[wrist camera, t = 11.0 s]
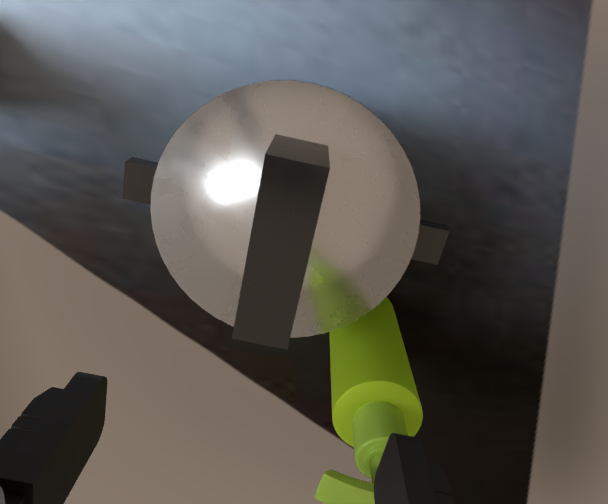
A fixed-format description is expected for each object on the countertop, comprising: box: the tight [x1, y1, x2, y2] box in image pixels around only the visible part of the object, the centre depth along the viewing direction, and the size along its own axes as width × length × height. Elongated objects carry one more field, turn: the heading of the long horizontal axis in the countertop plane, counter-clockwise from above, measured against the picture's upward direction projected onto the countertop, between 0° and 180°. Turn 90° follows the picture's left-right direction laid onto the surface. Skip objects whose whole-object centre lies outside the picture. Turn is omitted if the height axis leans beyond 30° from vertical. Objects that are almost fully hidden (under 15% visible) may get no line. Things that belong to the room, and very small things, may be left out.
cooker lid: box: [151, 80, 420, 349], centre depth 27 cm, size 16×16×6 cm
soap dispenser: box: [315, 297, 423, 504], centre depth 35 cm, size 6×7×20 cm
